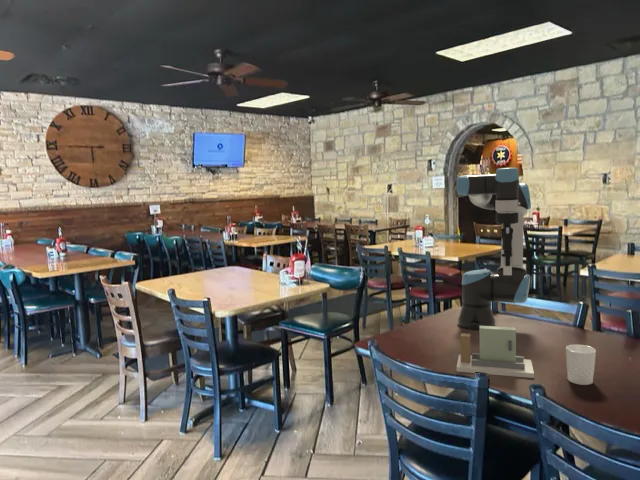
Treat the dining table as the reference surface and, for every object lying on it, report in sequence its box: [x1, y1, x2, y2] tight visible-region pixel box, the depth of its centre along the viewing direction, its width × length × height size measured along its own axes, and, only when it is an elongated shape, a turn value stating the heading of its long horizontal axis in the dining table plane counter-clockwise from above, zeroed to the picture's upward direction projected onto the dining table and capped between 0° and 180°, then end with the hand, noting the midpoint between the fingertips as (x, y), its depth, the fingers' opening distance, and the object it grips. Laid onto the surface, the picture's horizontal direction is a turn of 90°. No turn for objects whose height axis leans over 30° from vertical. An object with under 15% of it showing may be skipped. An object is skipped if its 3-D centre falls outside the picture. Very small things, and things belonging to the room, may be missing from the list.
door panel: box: [478, 325, 517, 362], centre depth 157 cm, size 11×4×12 cm, turn 71°
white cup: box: [565, 343, 597, 386], centre depth 146 cm, size 8×8×10 cm
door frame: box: [456, 332, 535, 379], centre depth 158 cm, size 23×12×10 cm, turn 71°
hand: (506, 271), depth 173 cm, fingers open, 13 cm apart
